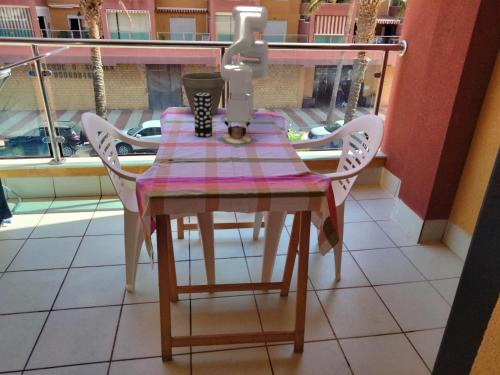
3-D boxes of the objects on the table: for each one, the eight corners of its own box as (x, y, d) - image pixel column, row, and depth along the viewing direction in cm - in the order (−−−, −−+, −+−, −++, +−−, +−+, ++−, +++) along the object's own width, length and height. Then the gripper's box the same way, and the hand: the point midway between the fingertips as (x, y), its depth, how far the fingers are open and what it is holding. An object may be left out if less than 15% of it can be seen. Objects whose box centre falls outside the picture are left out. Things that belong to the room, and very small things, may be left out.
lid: (237, 134, 182) (237, 121, 180) (256, 140, 174) (257, 127, 172) (217, 139, 174) (217, 126, 171) (236, 146, 166) (237, 133, 163)
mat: (237, 134, 184) (237, 133, 184) (259, 141, 175) (259, 140, 174) (214, 140, 174) (214, 139, 174) (236, 148, 165) (236, 147, 164)
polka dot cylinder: (213, 134, 183) (213, 93, 174) (210, 139, 176) (210, 96, 167) (197, 132, 184) (196, 92, 175) (193, 138, 176) (191, 95, 168)
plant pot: (174, 115, 212) (172, 76, 203) (194, 106, 233) (193, 70, 224) (214, 120, 205) (214, 80, 195) (231, 111, 226) (232, 74, 216)
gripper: (256, 95, 169) (255, 133, 177) (219, 94, 168) (219, 132, 176) (257, 98, 162) (255, 138, 170) (218, 97, 162) (218, 137, 169)
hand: (237, 135), depth 173 cm, fingers closed on lid, 5 cm apart
